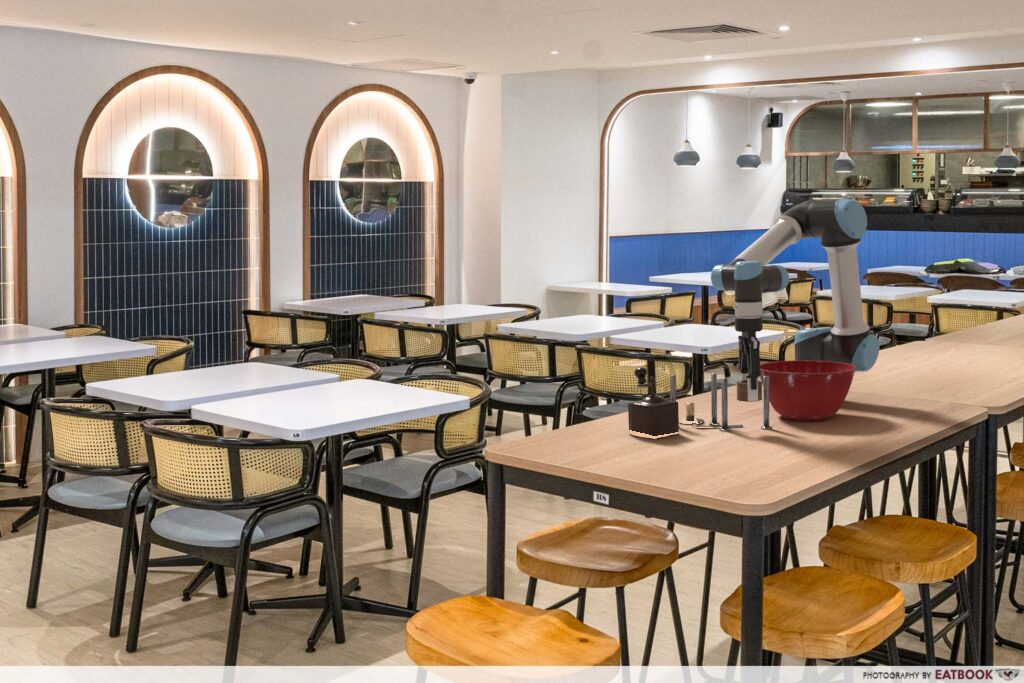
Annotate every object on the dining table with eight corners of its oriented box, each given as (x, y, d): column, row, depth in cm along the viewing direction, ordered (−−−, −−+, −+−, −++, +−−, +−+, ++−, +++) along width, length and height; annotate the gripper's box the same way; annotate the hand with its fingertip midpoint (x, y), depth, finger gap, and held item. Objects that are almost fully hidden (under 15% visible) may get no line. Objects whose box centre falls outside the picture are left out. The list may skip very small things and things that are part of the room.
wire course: (667, 425, 335) (666, 374, 333) (762, 421, 336) (761, 370, 334) (675, 433, 323) (674, 381, 322) (773, 429, 325) (773, 376, 323)
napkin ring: (735, 398, 324) (735, 380, 323) (757, 397, 324) (757, 379, 324) (741, 402, 318) (740, 384, 317) (763, 401, 318) (763, 383, 317)
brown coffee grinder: (681, 434, 323) (681, 370, 320) (654, 440, 316) (653, 375, 313) (642, 426, 335) (640, 365, 332) (614, 432, 328) (613, 370, 325)
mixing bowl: (769, 406, 360) (769, 357, 358) (863, 411, 347) (863, 360, 345) (746, 423, 335) (746, 371, 333) (846, 429, 322) (847, 374, 320)
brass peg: (674, 420, 342) (674, 401, 342) (700, 419, 343) (700, 400, 342) (679, 425, 334) (679, 406, 334) (706, 424, 335) (706, 404, 334)
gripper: (726, 313, 327) (727, 393, 330) (744, 321, 308) (745, 405, 311) (752, 312, 328) (753, 392, 331) (771, 319, 309) (772, 404, 312)
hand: (749, 398), depth 321 cm, fingers closed on napkin ring, 6 cm apart
